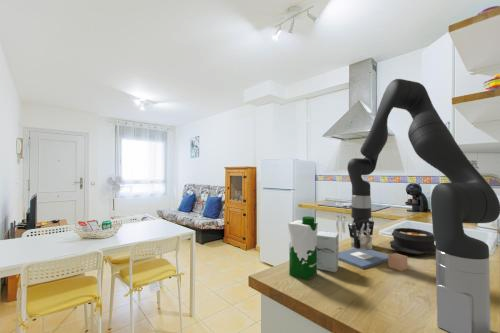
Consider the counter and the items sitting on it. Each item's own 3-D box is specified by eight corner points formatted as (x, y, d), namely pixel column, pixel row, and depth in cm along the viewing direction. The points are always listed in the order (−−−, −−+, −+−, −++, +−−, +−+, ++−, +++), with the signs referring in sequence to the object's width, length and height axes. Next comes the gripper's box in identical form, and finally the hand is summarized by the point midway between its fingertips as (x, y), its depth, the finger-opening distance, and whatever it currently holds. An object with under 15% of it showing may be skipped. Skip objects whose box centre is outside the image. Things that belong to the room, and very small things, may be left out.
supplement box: (315, 269, 88) (314, 234, 88) (319, 262, 95) (319, 230, 95) (336, 273, 85) (336, 237, 85) (339, 265, 91) (338, 232, 91)
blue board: (362, 269, 88) (362, 266, 88) (330, 256, 101) (330, 253, 101) (393, 259, 98) (393, 256, 98) (360, 249, 111) (360, 246, 111)
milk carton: (309, 282, 77) (309, 220, 78) (285, 274, 83) (285, 217, 84) (320, 273, 84) (320, 216, 85) (297, 267, 90) (297, 213, 90)
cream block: (364, 251, 96) (364, 238, 96) (351, 247, 101) (351, 235, 101) (371, 249, 98) (371, 236, 98) (358, 245, 104) (358, 233, 104)
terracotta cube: (400, 271, 87) (400, 258, 87) (388, 266, 90) (388, 254, 91) (407, 268, 89) (407, 256, 89) (395, 264, 93) (394, 252, 93)
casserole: (428, 262, 95) (428, 241, 95) (379, 250, 109) (379, 231, 110) (446, 249, 110) (445, 231, 111) (401, 240, 125) (400, 224, 125)
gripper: (358, 208, 93) (358, 252, 93) (380, 206, 100) (380, 246, 100) (342, 206, 100) (342, 247, 99) (364, 203, 107) (364, 242, 106)
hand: (361, 246), depth 100 cm, fingers closed on cream block, 5 cm apart
